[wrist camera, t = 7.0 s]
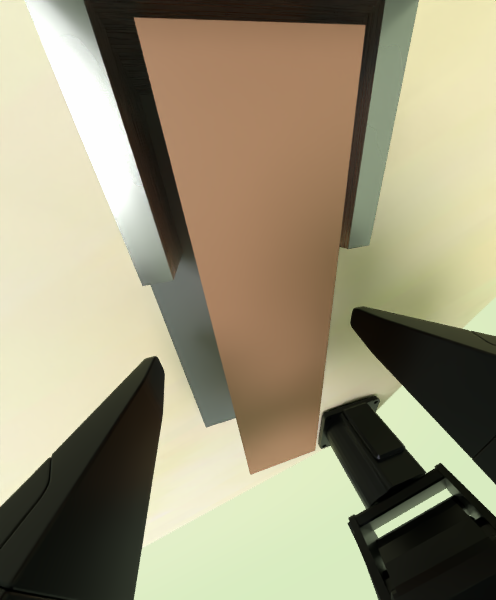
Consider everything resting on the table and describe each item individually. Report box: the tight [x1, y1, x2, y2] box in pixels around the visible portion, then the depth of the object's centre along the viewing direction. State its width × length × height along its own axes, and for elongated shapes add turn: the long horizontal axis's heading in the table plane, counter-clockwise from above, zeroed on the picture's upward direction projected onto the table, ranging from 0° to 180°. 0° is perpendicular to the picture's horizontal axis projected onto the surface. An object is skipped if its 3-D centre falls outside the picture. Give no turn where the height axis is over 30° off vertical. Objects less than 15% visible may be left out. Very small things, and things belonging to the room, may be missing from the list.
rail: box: [134, 18, 366, 475], centre depth 9 cm, size 16×4×4 cm, turn 7°
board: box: [139, 95, 236, 427], centre depth 10 cm, size 19×9×1 cm, turn 6°
